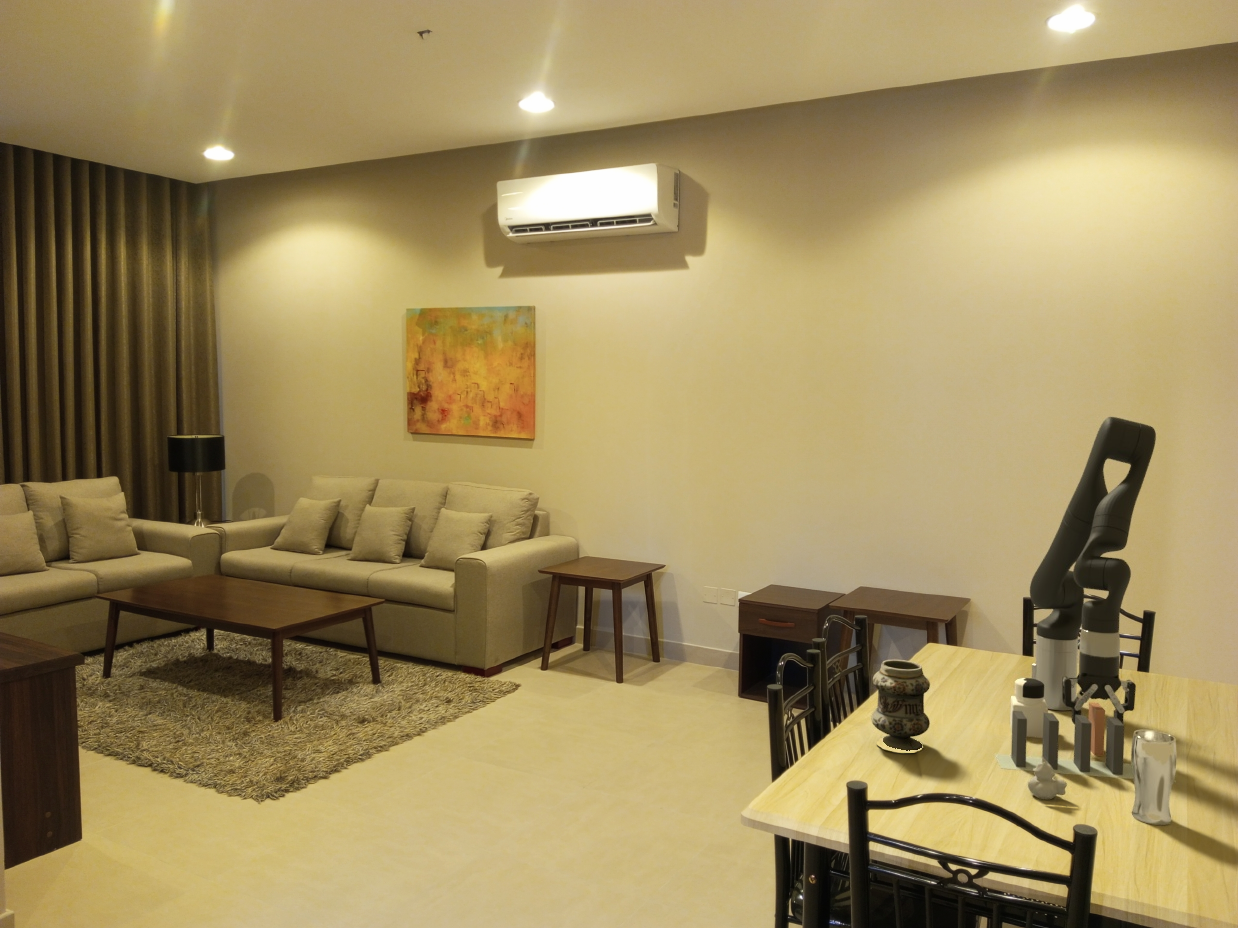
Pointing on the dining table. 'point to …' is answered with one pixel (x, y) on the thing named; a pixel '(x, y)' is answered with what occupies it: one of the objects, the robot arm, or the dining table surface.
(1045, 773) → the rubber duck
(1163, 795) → the beer glass
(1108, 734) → the domino
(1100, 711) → the domino
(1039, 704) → the medicine bottle
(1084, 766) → the domino
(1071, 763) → the mat
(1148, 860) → the dining table surface
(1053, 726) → the domino
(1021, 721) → the domino
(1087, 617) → the robot arm
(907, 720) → the apothecary jar
